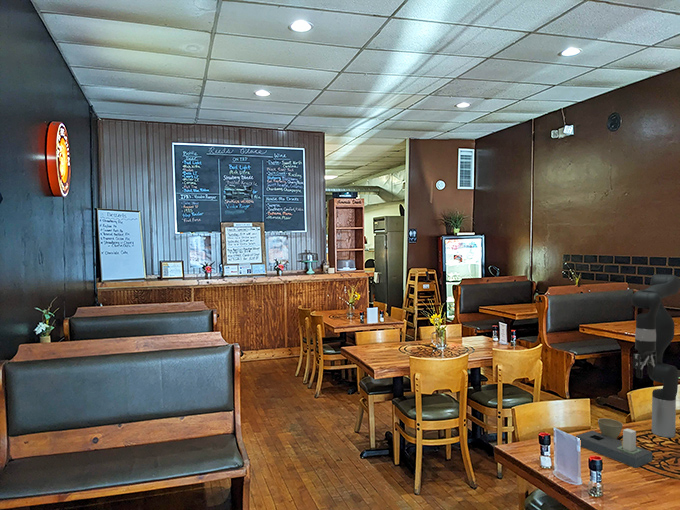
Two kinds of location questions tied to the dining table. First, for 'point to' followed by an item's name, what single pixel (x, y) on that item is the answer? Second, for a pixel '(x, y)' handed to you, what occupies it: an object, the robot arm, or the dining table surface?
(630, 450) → the plug peg
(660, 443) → the dining table surface
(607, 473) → the dining table surface
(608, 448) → the panel
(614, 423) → the flower pot
